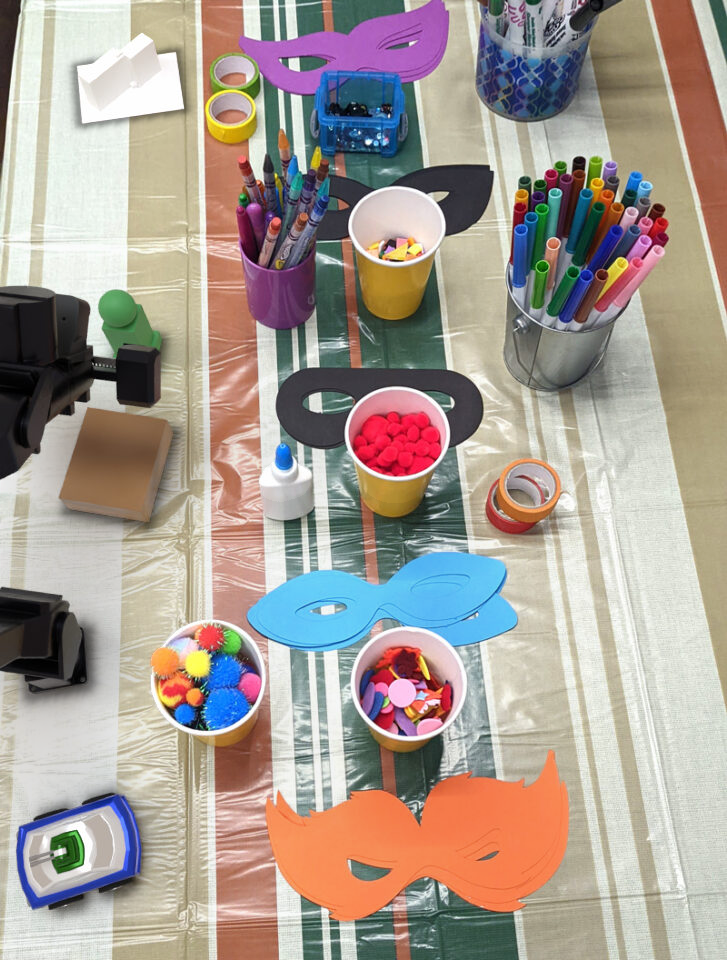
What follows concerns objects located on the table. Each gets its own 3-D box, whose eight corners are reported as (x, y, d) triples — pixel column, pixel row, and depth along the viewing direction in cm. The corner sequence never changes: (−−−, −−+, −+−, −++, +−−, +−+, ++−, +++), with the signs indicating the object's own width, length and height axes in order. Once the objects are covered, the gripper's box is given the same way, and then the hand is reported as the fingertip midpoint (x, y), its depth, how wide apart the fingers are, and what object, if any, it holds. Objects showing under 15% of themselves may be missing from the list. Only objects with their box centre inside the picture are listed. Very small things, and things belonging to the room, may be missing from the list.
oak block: (149, 522, 106) (141, 511, 103) (68, 509, 107) (58, 498, 103) (173, 432, 111) (166, 419, 107) (96, 420, 111) (87, 406, 108)
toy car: (24, 823, 94) (-12, 823, 86) (134, 786, 96) (110, 783, 87) (39, 915, 91) (4, 925, 82) (153, 876, 92) (130, 882, 84)
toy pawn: (153, 372, 114) (128, 319, 102) (115, 368, 114) (86, 314, 102) (162, 338, 116) (138, 282, 103) (124, 334, 116) (96, 277, 104)
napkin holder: (82, 124, 128) (70, 94, 123) (76, 66, 132) (63, 34, 127) (185, 108, 129) (177, 77, 124) (175, 51, 134) (167, 18, 128)
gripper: (133, 320, 83) (181, 286, 97) (-59, 296, 84) (16, 266, 98) (135, 430, 88) (180, 382, 102) (-47, 407, 89) (23, 363, 103)
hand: (100, 347), depth 101 cm, fingers open, 9 cm apart
